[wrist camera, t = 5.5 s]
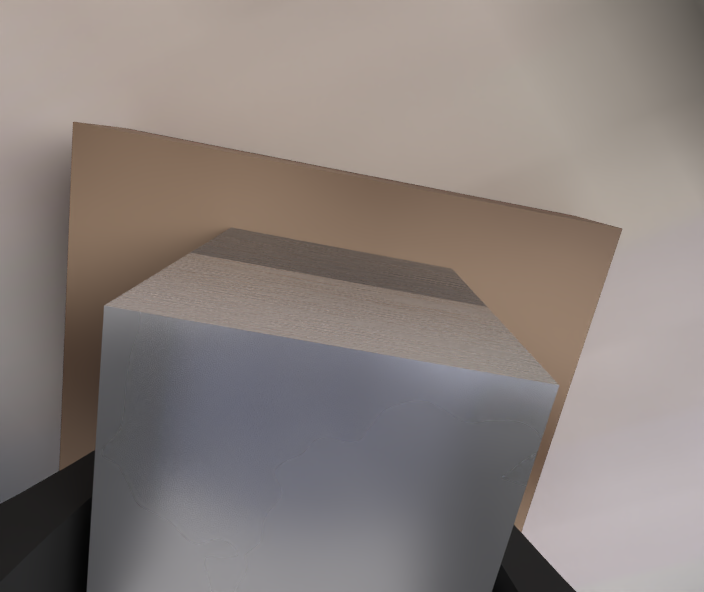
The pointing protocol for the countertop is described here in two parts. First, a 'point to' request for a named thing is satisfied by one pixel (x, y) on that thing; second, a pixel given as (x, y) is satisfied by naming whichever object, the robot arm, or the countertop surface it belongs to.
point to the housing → (308, 426)
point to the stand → (317, 227)
